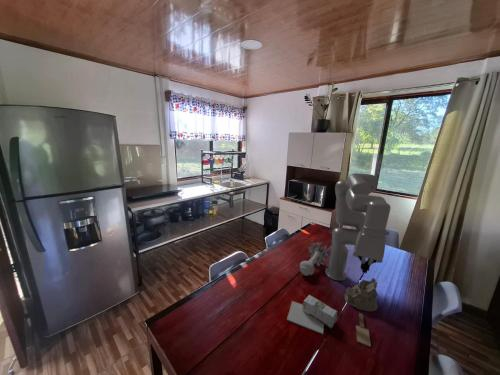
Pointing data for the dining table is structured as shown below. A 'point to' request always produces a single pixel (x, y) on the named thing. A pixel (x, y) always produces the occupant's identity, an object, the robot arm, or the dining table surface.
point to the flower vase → (313, 259)
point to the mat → (304, 318)
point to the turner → (362, 332)
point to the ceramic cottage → (363, 295)
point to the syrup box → (320, 311)
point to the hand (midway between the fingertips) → (364, 270)
